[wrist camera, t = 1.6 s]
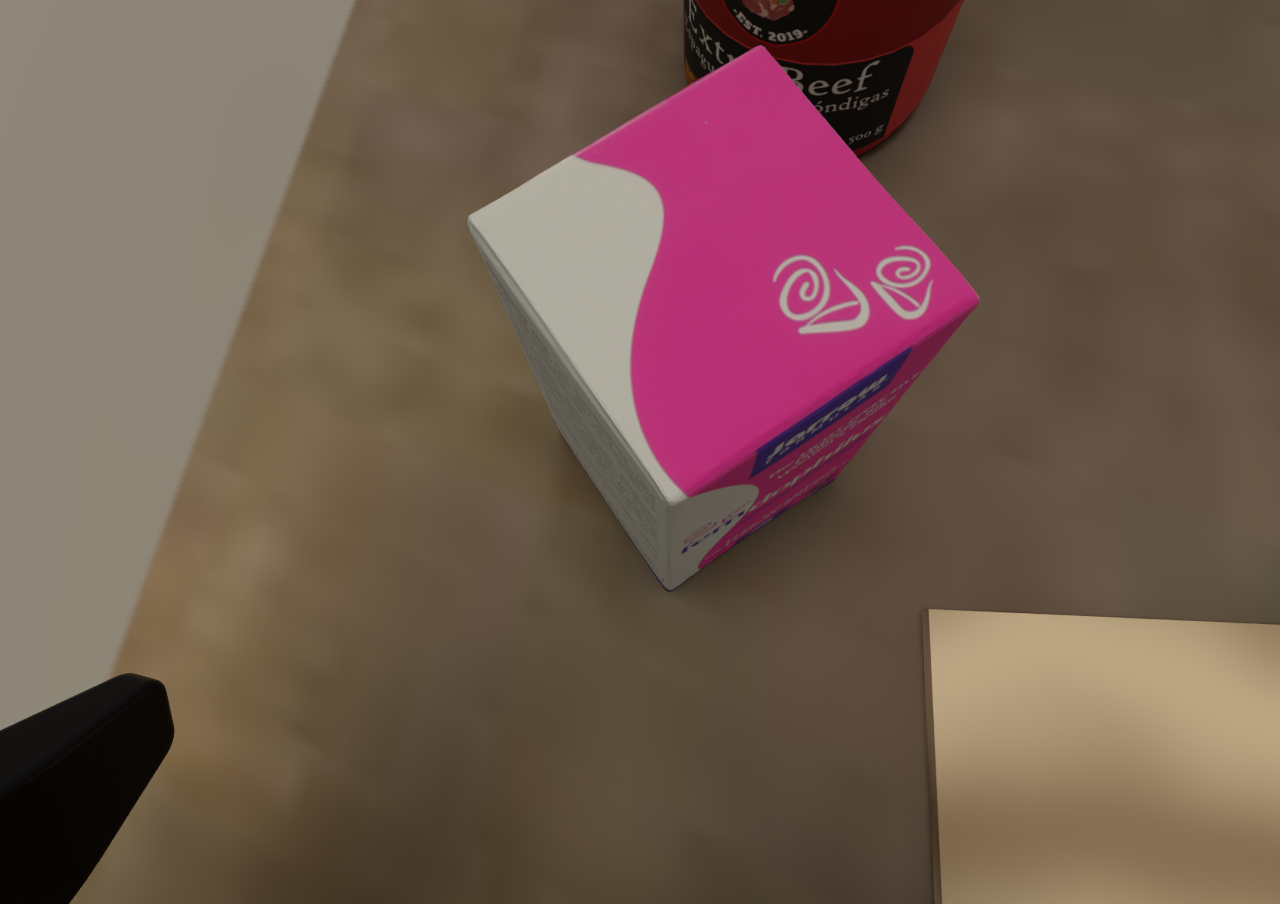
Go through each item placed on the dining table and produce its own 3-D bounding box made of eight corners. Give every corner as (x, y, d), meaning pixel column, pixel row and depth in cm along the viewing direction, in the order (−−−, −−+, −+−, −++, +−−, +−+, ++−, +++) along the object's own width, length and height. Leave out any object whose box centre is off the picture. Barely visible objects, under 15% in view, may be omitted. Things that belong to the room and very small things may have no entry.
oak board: (1496, 1192, 18) (1551, 1227, 17) (938, 1144, 19) (954, 1173, 18) (1387, 634, 21) (1427, 631, 20) (916, 613, 22) (928, 609, 21)
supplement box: (672, 603, 22) (657, 515, 11) (556, 429, 24) (442, 202, 13) (846, 484, 23) (995, 290, 12) (722, 322, 24) (751, 18, 13)
